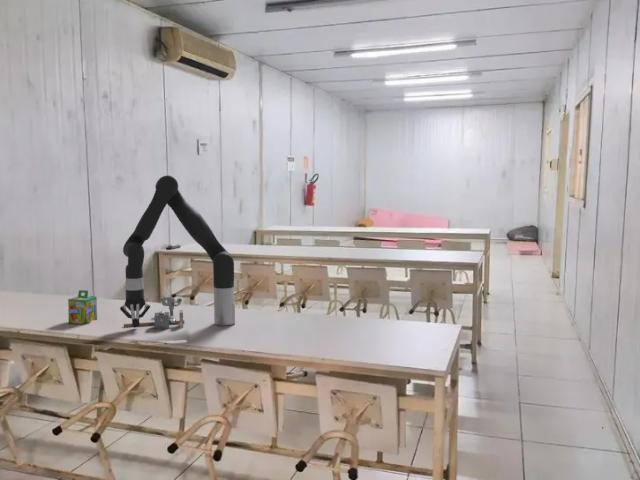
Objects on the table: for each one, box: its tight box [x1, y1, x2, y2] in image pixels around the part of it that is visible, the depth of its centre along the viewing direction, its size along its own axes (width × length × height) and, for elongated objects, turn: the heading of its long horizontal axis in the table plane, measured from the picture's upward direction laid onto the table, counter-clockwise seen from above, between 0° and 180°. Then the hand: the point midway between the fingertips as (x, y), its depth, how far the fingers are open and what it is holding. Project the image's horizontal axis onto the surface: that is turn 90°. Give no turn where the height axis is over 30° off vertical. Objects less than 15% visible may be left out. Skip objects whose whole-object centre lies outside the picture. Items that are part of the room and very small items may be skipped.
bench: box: [123, 309, 185, 329], centre depth 232 cm, size 26×10×8 cm, turn 104°
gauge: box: [153, 310, 177, 330], centre depth 232 cm, size 9×8×7 cm
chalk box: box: [67, 289, 98, 325], centre depth 247 cm, size 9×9×15 cm
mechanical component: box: [160, 296, 183, 317], centre depth 254 cm, size 3×10×10 cm, turn 79°
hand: (135, 327), depth 230 cm, fingers closed
